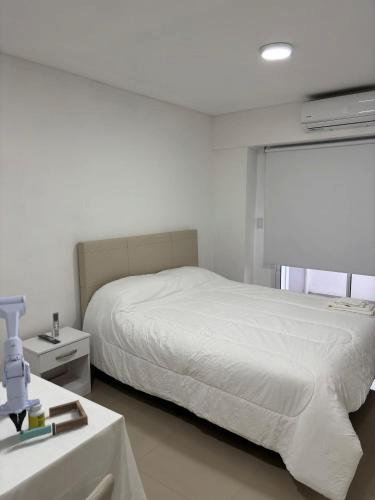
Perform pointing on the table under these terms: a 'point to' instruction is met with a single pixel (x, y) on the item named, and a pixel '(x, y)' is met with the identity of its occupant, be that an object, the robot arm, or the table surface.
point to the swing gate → (34, 432)
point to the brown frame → (70, 423)
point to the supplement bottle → (36, 416)
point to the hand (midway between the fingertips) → (18, 430)
